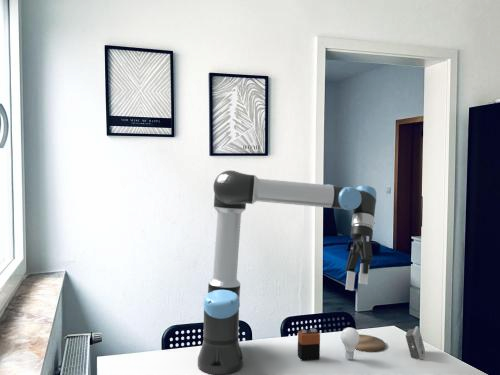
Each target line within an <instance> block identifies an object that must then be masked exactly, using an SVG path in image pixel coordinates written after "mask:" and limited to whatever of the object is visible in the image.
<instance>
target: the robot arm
mask: <svg viewBox="0 0 500 375" xmlns="http://www.w3.org/2000/svg"><path fill="white" fill-rule="evenodd" d="M213 192H214V194H213V195H214V198H213V208H214V209H215V211H216V212H217V214H216V215H217V217H216V229H215V230H216V231H215V243H214V245H215V246H214V260H213V272H212V273H213V274H212V278H211V279H210V280H209V281H208V284H207V286H208V287H207V294H206V295H205V297H204V300H203V303H202V304H203V305H202V306H203V338H202V339H203V341H202V345H201V347H200V352H199V354H198V356H197V367H198V369H199V370H201V371H202V372H204V373H207V374H211V375H229V374H233V373H236V372H238V371H240V370H241V369H243V367H244V355H243V353H242V349H241V348H242V347H241V345H240V341H239V335H240V334H239V330H240V326H239V324H240V322H239V320H240V306H241V305H240V298H241V297H240V296H241V282H240V281H239V280H238V279H237V278H238V264H239V263H238V262H239V250H240V235H241V234H240V233H241V222H242V221H241V218H242V214H243V212H244V211H246V207H247V204H249V205H250V204H251V205H254V204H255V203H256V202H263V203H272V204H273V203H274V204H284V205H295V206H307V207H315V208H316V207H319V208H330V209H340V210H345V211H352V219H351V227H350V238H351V239H352V240H354V243H353V244H351V245H350V251H349V254H348V259H347V263H346V266H345V271H346V273H347V274H346V282H345V290H348V291H351V292H353V291H355V290H354V289H355V279H356V274H357V271H356V268H357V266H358V263H359V259H360V258H361V259H360V264H359V265H360V267H359V274H358V275H359V277H358V284H361V285H364V286H368V284H369V273H370V265H371V262H373V260H374V257H373V249H372V240H373V236H374V234H373V233H374V229H373V228H374V225H375V224H376V222H375V213H376V212H375V211H376V204H377V191H376V188H374V187H373V186H369V185H359V186H357V187H353V186H342V185H335V184H329V183H328V184H320V183H309V182H308V183H307V182H301V181H300V182H297V181H288V180H277V179H267V178H266V179H264V178H258V177H257V175H256V174H246V173H243V172H239V171H236V170H225V171H222V172H221V173H219V174H218V175H217V176H216V178H215V180H214V182H213Z"/></svg>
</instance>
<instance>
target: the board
mask: <svg viewBox="0 0 500 375" xmlns="http://www.w3.org/2000/svg"><path fill="white" fill-rule="evenodd" d="M359 336H360V339H359V342H358V344H357V345H356V347H355V349H356V350H355V351H358V350H359V351H360V352H364V351H365V352H367V353H377V351H378V352H381V351H384V350H385V349H386V342H385V341H384V340H383V339H382V338H379V337H376V336H373V335H368V334H360V333H359ZM359 351H358V352H359Z"/></svg>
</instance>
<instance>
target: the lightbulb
mask: <svg viewBox="0 0 500 375" xmlns="http://www.w3.org/2000/svg"><path fill="white" fill-rule="evenodd" d="M359 334H360V333H359V331H357V329H356V328H354V327H345V328H344V329H343V330H342V331H341V333H340V339H341V341H342V344H343V346H344V349H345V359H347V360H349V361H351V360H352V361H353V359H354V356H355V355H354V353H355V351H356V350H355V347H356V345H357V344H358V342H359V339H360V336H359Z"/></svg>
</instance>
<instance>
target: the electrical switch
mask: <svg viewBox="0 0 500 375" xmlns="http://www.w3.org/2000/svg"><path fill="white" fill-rule="evenodd" d="M419 327H420V326H415V327H414V328H413V329H410V328H409V329H408V330H407V332H406V333H405V339H406V343H407V346H408V351H409V353H410V354H409V355H410V358H411V359H414V358H415V359H417V358H419V360H420V361H422V360H424V356H425V354H426V349H425V345H424V342H423V341H424V340H423V337H422V334H421V330H420V328H419Z"/></svg>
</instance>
